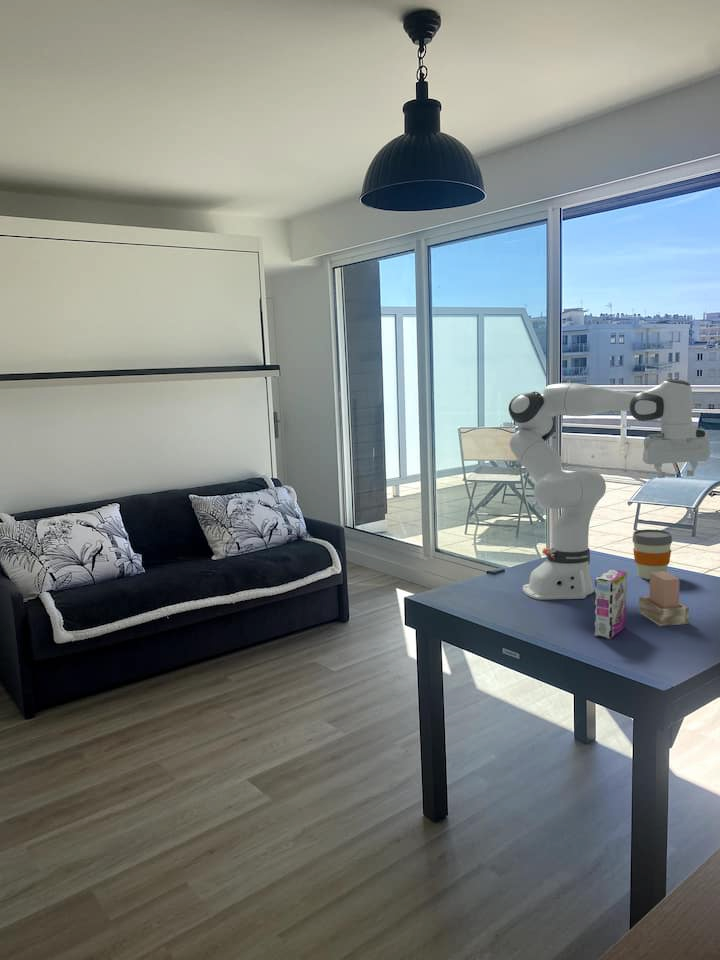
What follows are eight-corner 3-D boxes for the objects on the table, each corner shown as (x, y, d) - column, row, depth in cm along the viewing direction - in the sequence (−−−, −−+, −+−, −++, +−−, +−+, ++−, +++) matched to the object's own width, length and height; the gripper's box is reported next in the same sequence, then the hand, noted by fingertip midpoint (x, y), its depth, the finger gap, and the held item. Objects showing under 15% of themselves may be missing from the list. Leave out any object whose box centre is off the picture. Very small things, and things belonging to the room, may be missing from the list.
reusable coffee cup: (634, 581, 245) (634, 537, 243) (630, 570, 257) (630, 529, 255) (674, 581, 242) (675, 537, 240) (668, 571, 254) (668, 529, 252)
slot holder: (659, 626, 204) (660, 610, 203) (639, 612, 215) (639, 597, 215) (688, 623, 204) (688, 607, 204) (666, 609, 216) (666, 594, 215)
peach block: (664, 621, 205) (664, 580, 204) (649, 612, 213) (649, 572, 211) (678, 619, 206) (679, 578, 204) (663, 610, 214) (663, 571, 212)
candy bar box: (612, 640, 195) (612, 581, 193) (593, 636, 198) (593, 578, 196) (627, 627, 204) (627, 570, 201) (609, 624, 207) (609, 568, 204)
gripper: (649, 435, 220) (648, 480, 222) (713, 431, 222) (712, 476, 224) (639, 433, 226) (638, 477, 228) (701, 429, 228) (700, 473, 230)
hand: (675, 476), depth 226 cm, fingers open, 8 cm apart
